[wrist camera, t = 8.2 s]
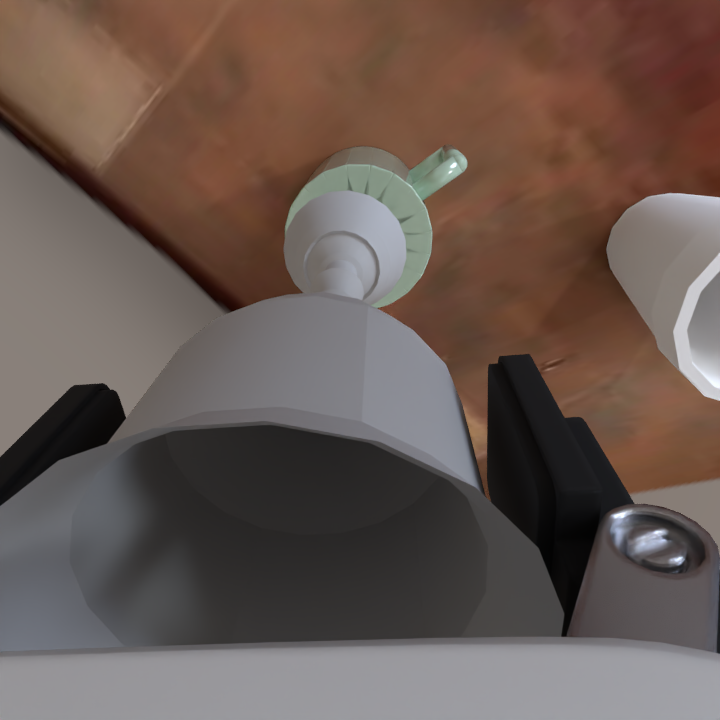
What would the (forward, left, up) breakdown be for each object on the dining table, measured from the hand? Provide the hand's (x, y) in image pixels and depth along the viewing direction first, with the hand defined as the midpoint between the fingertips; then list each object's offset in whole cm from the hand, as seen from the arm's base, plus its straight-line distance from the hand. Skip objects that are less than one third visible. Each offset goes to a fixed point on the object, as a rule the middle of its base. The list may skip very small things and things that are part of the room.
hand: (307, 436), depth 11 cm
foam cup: (+5, +19, -28) cm, 34 cm away
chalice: (0, 0, -13) cm, 13 cm away
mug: (0, +1, -28) cm, 28 cm away
